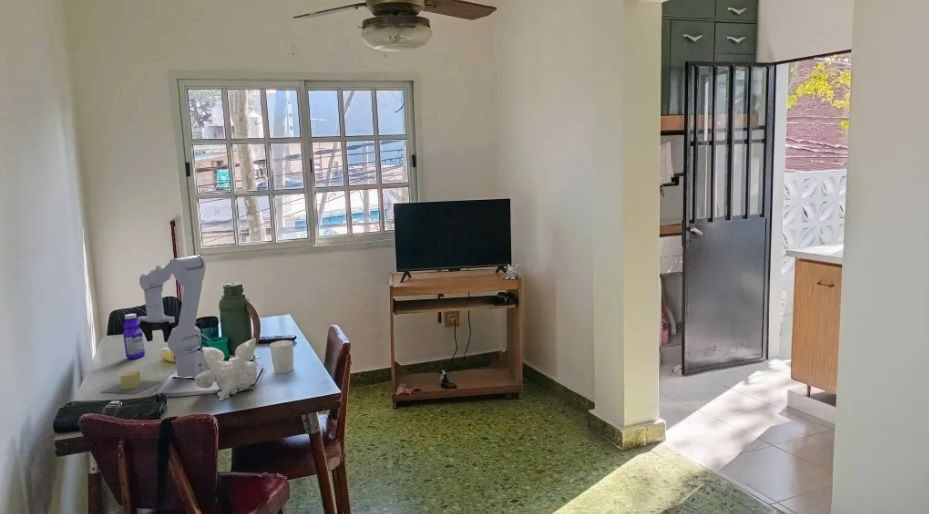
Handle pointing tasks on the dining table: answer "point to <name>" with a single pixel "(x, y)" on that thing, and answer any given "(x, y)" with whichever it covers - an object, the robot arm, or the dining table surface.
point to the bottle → (133, 337)
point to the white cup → (282, 356)
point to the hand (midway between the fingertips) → (158, 341)
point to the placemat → (136, 390)
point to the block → (130, 380)
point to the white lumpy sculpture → (229, 370)
